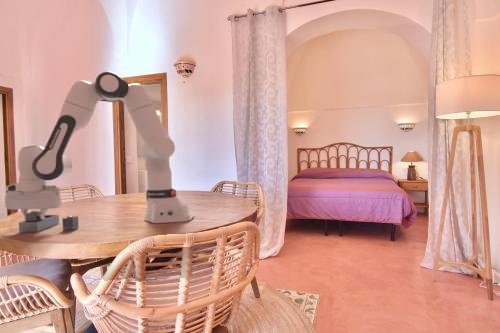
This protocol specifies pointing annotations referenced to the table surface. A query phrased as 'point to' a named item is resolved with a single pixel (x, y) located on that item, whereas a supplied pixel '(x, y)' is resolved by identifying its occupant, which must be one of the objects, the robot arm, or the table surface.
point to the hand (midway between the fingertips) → (34, 219)
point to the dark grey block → (70, 223)
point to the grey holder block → (39, 224)
